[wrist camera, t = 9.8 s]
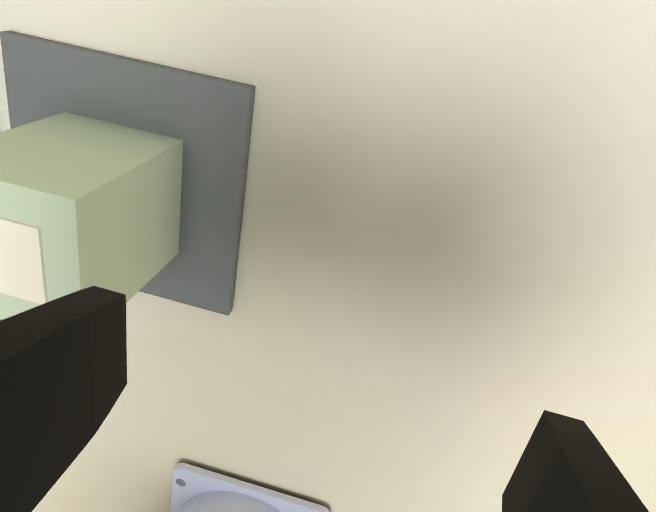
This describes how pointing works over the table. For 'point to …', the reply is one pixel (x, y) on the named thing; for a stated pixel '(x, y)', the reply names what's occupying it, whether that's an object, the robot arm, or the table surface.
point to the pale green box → (84, 208)
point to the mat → (160, 118)
